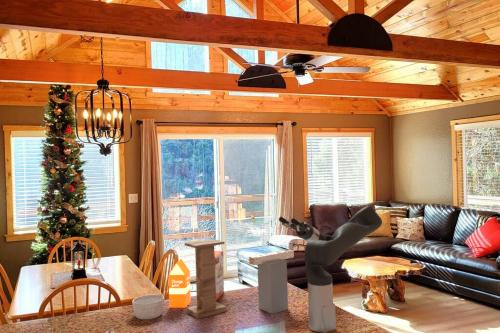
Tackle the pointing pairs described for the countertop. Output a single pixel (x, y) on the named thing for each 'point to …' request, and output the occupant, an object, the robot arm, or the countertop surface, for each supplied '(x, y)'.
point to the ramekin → (148, 306)
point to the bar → (271, 257)
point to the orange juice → (179, 285)
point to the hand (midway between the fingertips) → (285, 219)
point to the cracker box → (219, 273)
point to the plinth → (273, 286)
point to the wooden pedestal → (205, 279)
